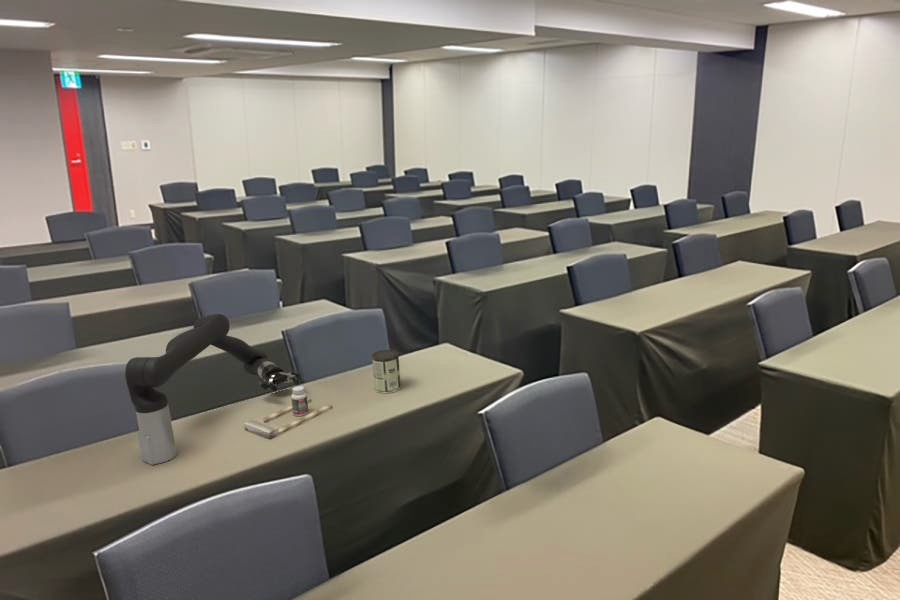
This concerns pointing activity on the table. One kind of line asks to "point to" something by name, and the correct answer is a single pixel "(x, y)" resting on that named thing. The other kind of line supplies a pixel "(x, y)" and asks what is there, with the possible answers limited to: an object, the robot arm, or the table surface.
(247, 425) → the keeper track
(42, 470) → the table surface
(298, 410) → the pill bottle
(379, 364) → the coffee can
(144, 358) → the robot arm
